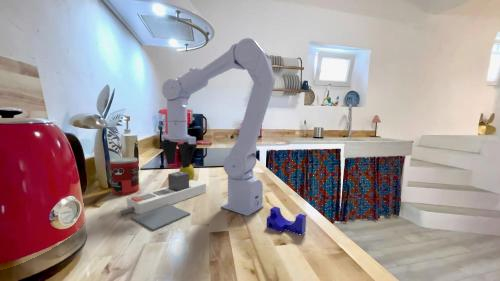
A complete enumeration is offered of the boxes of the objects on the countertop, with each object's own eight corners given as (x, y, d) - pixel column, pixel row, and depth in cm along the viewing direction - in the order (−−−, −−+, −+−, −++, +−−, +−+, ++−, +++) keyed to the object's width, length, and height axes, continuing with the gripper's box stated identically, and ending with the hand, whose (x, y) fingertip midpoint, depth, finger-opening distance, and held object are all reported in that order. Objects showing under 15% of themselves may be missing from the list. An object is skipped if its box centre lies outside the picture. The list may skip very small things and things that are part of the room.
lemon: (192, 186, 78) (191, 164, 77) (177, 186, 78) (176, 164, 77) (196, 181, 83) (196, 161, 83) (182, 181, 84) (181, 161, 83)
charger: (189, 190, 68) (188, 173, 67) (177, 194, 64) (176, 176, 64) (180, 187, 70) (180, 171, 70) (168, 191, 67) (168, 173, 66)
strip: (192, 188, 76) (192, 178, 76) (205, 192, 72) (205, 182, 71) (115, 212, 56) (114, 199, 55) (128, 220, 52) (127, 206, 51)
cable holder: (266, 227, 49) (266, 211, 49) (274, 222, 52) (274, 206, 52) (298, 239, 45) (299, 221, 44) (305, 232, 48) (306, 215, 47)
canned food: (109, 191, 71) (107, 159, 70) (135, 186, 77) (133, 156, 76) (114, 197, 66) (112, 162, 65) (142, 191, 72) (141, 159, 70)
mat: (190, 214, 55) (190, 213, 55) (153, 231, 47) (153, 229, 47) (167, 205, 61) (167, 203, 61) (131, 218, 53) (131, 216, 53)
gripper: (203, 121, 64) (204, 166, 65) (174, 121, 72) (175, 160, 74) (183, 122, 58) (184, 170, 60) (154, 121, 67) (156, 163, 68)
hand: (178, 165), depth 66 cm, fingers open, 7 cm apart
